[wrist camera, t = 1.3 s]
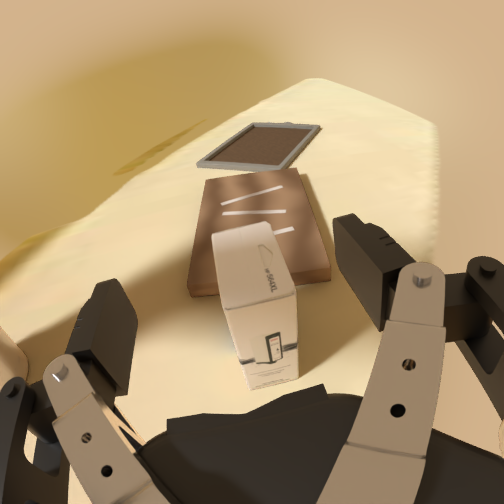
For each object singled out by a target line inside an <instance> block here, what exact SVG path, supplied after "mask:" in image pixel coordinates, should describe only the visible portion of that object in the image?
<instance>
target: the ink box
mask: <svg viewBox="0 0 504 504" xmlns="http://www.w3.org/2000/svg"><path fill="white" fill-rule="evenodd" d="M212 246H213V253H214V260H215V267H216V273H217V280H218V286H219V292H220V298H221V303H222V308H223V311H224V313H225V316H226V320H227V323H228V326H229V330H230V333H231V336H232V339H233V343H234V346H235V349H236V352H237V355H238V358H239V362H240V365H241V368H242V371H243V374H244V377H245V380H246V383H247V387H248V389H249V390H254V389H258V388H262V387H267V386H271V385H275V384H279V383H284V382H287V381H291V380H295V379H298V378H299V365H298V321H297V297H296V289H295V285H294V282H293V280H292V278H291V276H290V273H289V270H288V268H287V266H286V263H285V261H284V258H283V255H282V253H281V250H280V248H279V246H278V243H277V240H276V238H275V235H274V233H273V231H272V228H271V225H270V224H269V223H267V221H264V222H260V223H255V224H250V225H246V226H241V227H237V228H232V229H228V230H225V231H221V232H217V233H213V234H212Z"/></svg>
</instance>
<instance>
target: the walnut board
mask: <svg viewBox="0 0 504 504" xmlns="http://www.w3.org/2000/svg"><path fill="white" fill-rule="evenodd" d="M264 221H267V223H269V224H270V225H271V228H272V231H273V233H274V235H275V238H276V240H277V243H278V246H279V248H280V250H281V253H282V255H283V258H284V261H285V263H286V266H287V268H288V270H289V273H290V276H291V278H292V280H293V282H294V285H301V284H309V283H316V282H324V281H330V280H331V266H330V263H329V260H328V256H327V253H326V250H325V247H324V244H323V241H322V238H321V235H320V232H319V229H318V226H317V223H316V221H315V218H314V215H313V212H312V209H311V206H310V203H309V201H308V198H307V195H306V192H305V190H304V187H303V184H302V181H301V179H300V176H299V173H298V171H297V168H289V169H280V170H272V171H264V172H256V173H249V174H241V175H234V176H227V177H221V178H214V179H208V180H206V182H205V187H204V192H203V197H202V202H201V207H200V213H199V218H198V223H197V229H196V234H195V240H194V245H193V251H192V257H191V263H190V269H189V275H188V281H187V287H188V289H189V292H190V295H191V297H199V296H208V295H218V294H220V292H219V286H218V280H217V273H216V267H215V260H214V253H213V246H212V234H213V233H217V232H221V231H225V230H228V229H232V228H237V227H241V226H246V225H250V224H255V223H260V222H264Z"/></svg>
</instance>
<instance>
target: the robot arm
mask: <svg viewBox="0 0 504 504" xmlns="http://www.w3.org/2000/svg"><path fill="white" fill-rule="evenodd" d="M333 234H334V243H335V254H336V260H337V264H338V267H339V269H340V271H341V273H342V274H343V276H344V277H345V279H346V280H347V282H348V283H349V285H350V287H351V288H352V290H353V291H354V293H355V294H356V296H357V297H358V299H359V300H360V302H361V304H362V305H363V307H364V308H365V310H366V311H367V313H368V315H369V316H370V318H371V319H372V321H373V323H374V324H375V326H376V327H377V329H378V331H379V332H381V331H383V330H384V331H383V335H382V339H381V342H380V346H379V350H378V353H377V356H376V360H375V363H374V366H373V370H372V373H371V376H370V379H369V382H368V385H367V388H366V391H365V394H364V397H362V396H357V395H352V394H340V393H333V394H327V392H326V390H325V387H324V384H320V385H316V386H313V387H310V388H307V389H303V390H300V391H296V392H293V393H289V394H286V395H283V396H281V397H279V398H277V399H275V400H273V401H271V402H269V403H267V404H265V405H263V406H261V407H259V408H257V409H255V410H253V411H250V412H248V413H246V414H206V413H202V414H197V415H191V416H185V417H179V418H172V419H167V431H165V432H163V433H161V434H159V435H157V436H155V437H154V438H152V439H151V440H149V441H148V442H147V443H146V442H145V441H144V440H143V439H142V438H141V436H140V435H139V434H138V433H137V431H136V430H135V429H134V428H133V426H132V425H131V424H130V422H129V421H128V420H127V418H126V417H125V416H124V414H123V413H122V412H121V410H120V409H119V408H118V406H117V405H116V404H115V403H114V401H115V397H117V396H124V395H128V387H129V379H130V371H131V364H132V358H133V351H134V345H135V338H136V332H137V327H138V320H137V315H136V312H135V310H134V308H133V306H132V305H131V303H130V301H129V299H128V297H127V296H126V294H125V292H124V290H123V288H122V286H121V284H120V283H119V281H118V280H117V279H115V278H114V279H110V280H107V281H103V282H100V283H97V284H96V286H95V288H94V291H93V293H92V296H91V298H90V299H88V301H87V302H86V303H85V305H84V306H83V307H82V308H81V310H80V313H79V315H78V318H77V320H78V321H76V323H75V326H74V328H75V329H73V331H72V334H71V337H70V340H69V343H68V346H67V349H66V351H65V354H64V355H61V356H59V357H57V358H55V359H54V360H53V361H51V362H50V363H49V365H48V366H47V367H46V369H45V371H44V374H43V380H40V381H38V382H36V383H34V384H32V385H29V384H28V383H27V382H26V377H27V374H28V361H27V357H26V355H25V354H24V352H23V351H22V350H21V349H20V348H19V347H18V346H17V345H16V344H15V343H14V342H13V341H12V339H11V338H10V337H9V336H8V335H7V334H6V332H5V331H4V330H3V329H2V328H1V327H0V504H68V485H69V470H70V464H71V466H72V468H73V470H74V472H75V474H76V476H77V478H78V479H79V481H80V483H81V485H82V487H83V488H84V490H85V492H86V494H87V495H88V497H89V499H90V500H91V502H92V504H504V339H503V338H502V337H501V335H500V334H499V333H498V331H497V330H496V329H495V327H494V326H493V325H492V321H494V322H495V323H496V325H497V326H498V327H499V329H500V330H501V331H502V333H503V334H504V265H503V264H502V263H501V262H499V261H498V260H496V259H494V258H491V257H486V256H480V257H475V258H473V259H471V260H470V261H469V262H468V265H467V270H466V273H457V274H446V275H444V273H443V272H442V271H441V269H439V268H438V267H437V266H435V265H432V264H430V263H425V262H416V261H415V260H414V259H413V258H412V257H411V256H410V255H409V254H408V253H407V252H406V251H405V250H404V249H403V248H402V247H401V246H400V245H399V244H398V243H396V241H395V240H394V239H393V238H392V237H390V236H389V234H388V233H387V232H386V231H385V230H383V229H382V228H381V227H379V226H376V225H374V224H372V223H367V224H364V223H363V222H362V221H361V220H360V219H359V218H358V217H357V216H356V215H355V214H353V213H352V214H348V215H344V216H341V217H337V218H334V219H333ZM446 342H455V343H456V345H457V346H458V347H459V349H460V351H461V352H462V354H463V355H464V357H465V359H466V360H467V361H468V363H469V365H470V366H471V368H472V370H473V371H474V373H475V374H476V376H477V378H478V379H479V381H480V383H481V384H482V386H483V388H484V390H485V391H486V393H487V394H488V396H489V398H490V400H491V401H492V403H493V405H494V407H495V409H496V411H497V412H498V414H499V416H500V418H501V420H502V423H501V425H500V428H499V440H500V445H499V446H500V449H501V451H502V457H501V456H499V455H496V454H494V453H491V452H489V451H486V450H483V449H481V448H478V447H476V446H473V445H471V444H468V443H466V442H463V441H461V440H459V439H456V438H454V437H452V436H449V435H447V434H445V433H442V432H440V431H438V430H435V429H433V428H432V425H433V420H434V415H435V410H436V404H437V399H438V393H439V387H440V380H441V373H442V365H443V357H444V347H445V343H446ZM27 429H28V430H29V431H30V432H31V433H32V434H34V435H35V436H36V437H37V441H36V447H35V453H34V460H33V464H32V463H30V462H29V461H28V460H27V459H26V457H25V454H24V444H25V439H26V434H27Z"/></svg>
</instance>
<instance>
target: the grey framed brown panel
mask: <svg viewBox="0 0 504 504" xmlns="http://www.w3.org/2000/svg"><path fill="white" fill-rule="evenodd" d="M319 130H320V125H308V124H293V123H290V122H285V123H251V124H250V125H248V126H247V127H245V128H244V129H242V130H241V131H240V132H238V133H237V134H235V135H234V136H232V137H231V138H230V139H228V140H227V141H225V142H224V143H223V144H221V145H220V146H219V147H217V148H216V149H214V150H213V151H212V152H210V153H209V154H208V155H206V156H205V157H204V158H202V159H201V160H200V161H198V162H197V163H196V165H197V168H212V169H227V170H240V171H252V172H264V171H272V170H280V169H286V168H287V167H288V166H289V165H290V164H291V162H292V161H293V160H294V159H295V158H296V157H297V155H298V154H299V153H300V152H301V151H302V150H303V148H304V147H305V146H306V145H307V144H308V143H309V142H310V140H311V139H312V138H313V137H314V136H315V135H316V134H317V132H318V131H319Z"/></svg>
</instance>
